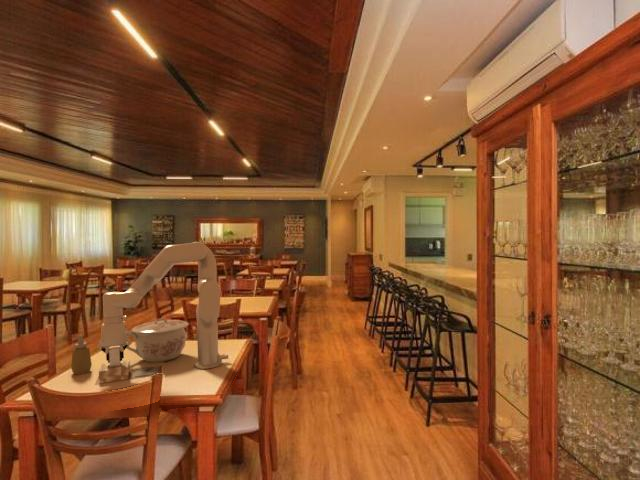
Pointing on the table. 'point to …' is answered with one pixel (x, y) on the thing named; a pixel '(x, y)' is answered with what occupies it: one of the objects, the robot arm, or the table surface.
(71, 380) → the table surface
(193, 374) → the table surface
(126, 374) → the socket board
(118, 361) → the steel peg
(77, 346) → the squeeze bottle
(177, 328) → the chamber pot
